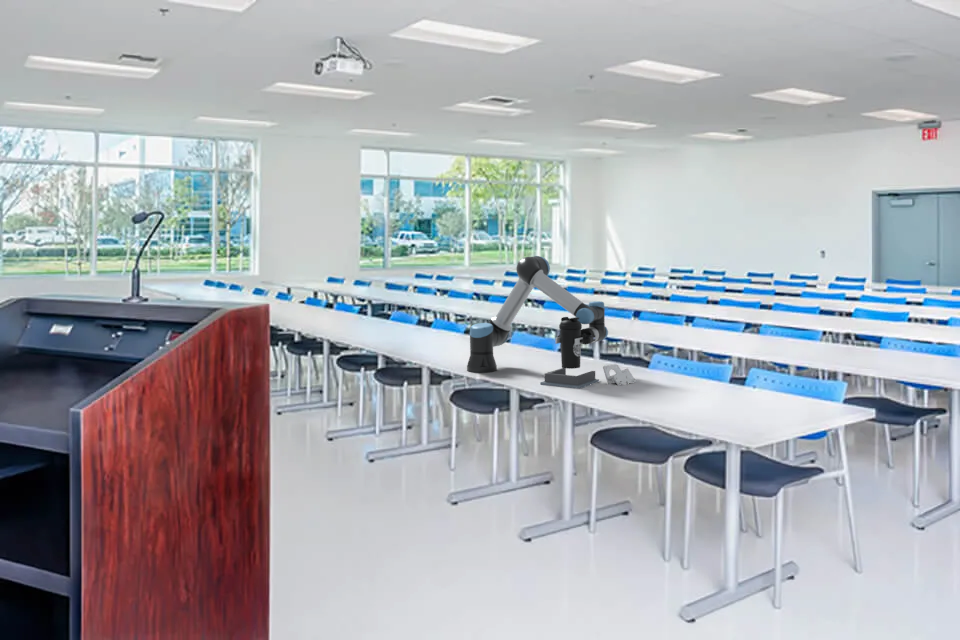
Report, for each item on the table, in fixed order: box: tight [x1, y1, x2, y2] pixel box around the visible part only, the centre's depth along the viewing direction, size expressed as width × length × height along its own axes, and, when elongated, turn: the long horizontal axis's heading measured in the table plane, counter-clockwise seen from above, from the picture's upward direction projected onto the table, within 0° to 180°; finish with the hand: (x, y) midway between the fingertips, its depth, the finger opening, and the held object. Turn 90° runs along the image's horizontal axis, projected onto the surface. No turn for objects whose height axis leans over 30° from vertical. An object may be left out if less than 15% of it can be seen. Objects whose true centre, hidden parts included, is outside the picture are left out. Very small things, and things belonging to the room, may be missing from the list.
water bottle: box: [558, 316, 583, 370], centre depth 367 cm, size 10×10×23 cm
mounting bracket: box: [602, 363, 637, 386], centre depth 367 cm, size 12×6×11 cm, turn 124°
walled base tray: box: [539, 367, 600, 389], centre depth 369 cm, size 20×20×5 cm
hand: (565, 341), depth 363 cm, fingers closed on water bottle, 9 cm apart
